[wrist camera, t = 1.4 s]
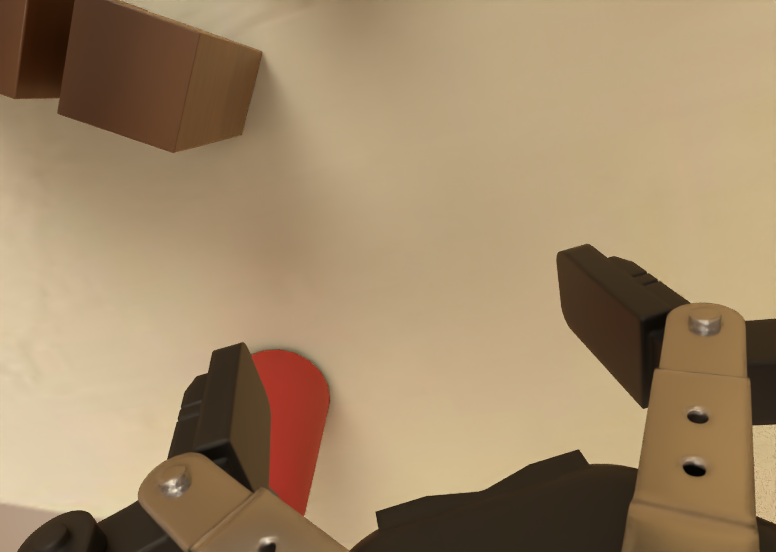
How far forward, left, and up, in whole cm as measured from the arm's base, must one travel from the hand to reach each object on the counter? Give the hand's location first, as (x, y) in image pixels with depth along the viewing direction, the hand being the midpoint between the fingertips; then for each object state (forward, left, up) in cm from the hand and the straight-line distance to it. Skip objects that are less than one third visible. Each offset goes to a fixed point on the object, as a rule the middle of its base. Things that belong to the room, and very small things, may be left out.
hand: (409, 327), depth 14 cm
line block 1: (-11, -5, -19) cm, 23 cm away
